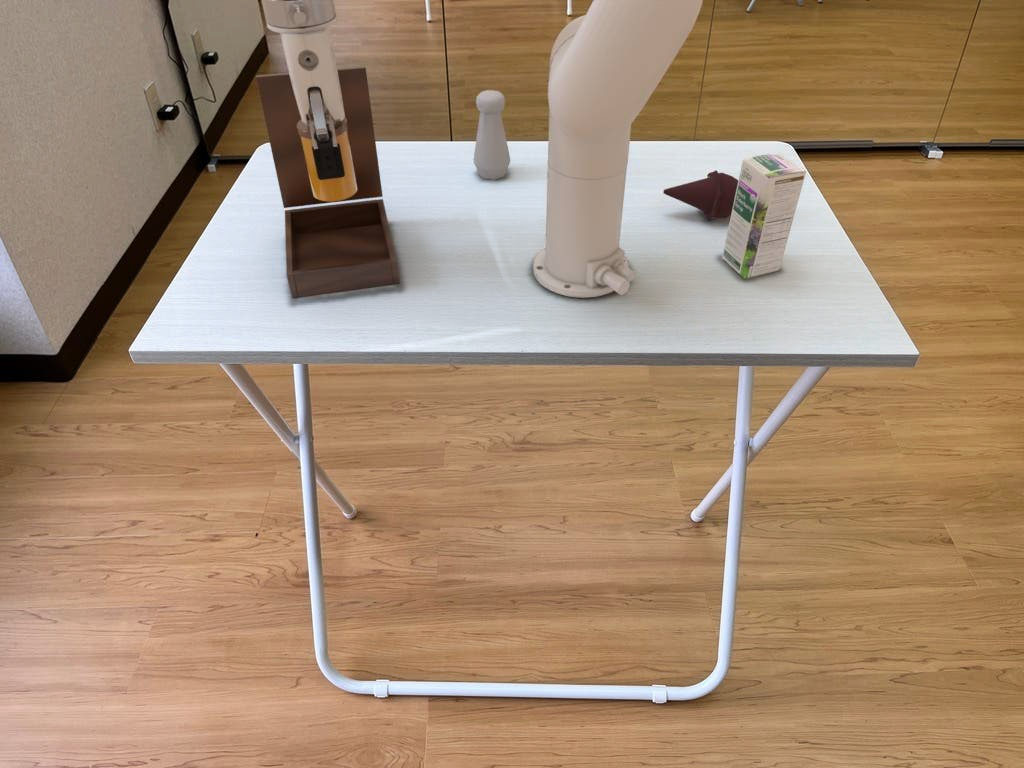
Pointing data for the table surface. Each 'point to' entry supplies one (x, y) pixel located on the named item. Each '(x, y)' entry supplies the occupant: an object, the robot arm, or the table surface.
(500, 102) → the salt shaker
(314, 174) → the honey pot
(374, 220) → the chest
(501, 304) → the table surface
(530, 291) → the table surface
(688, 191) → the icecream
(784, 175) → the syrup box
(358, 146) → the chest lid
